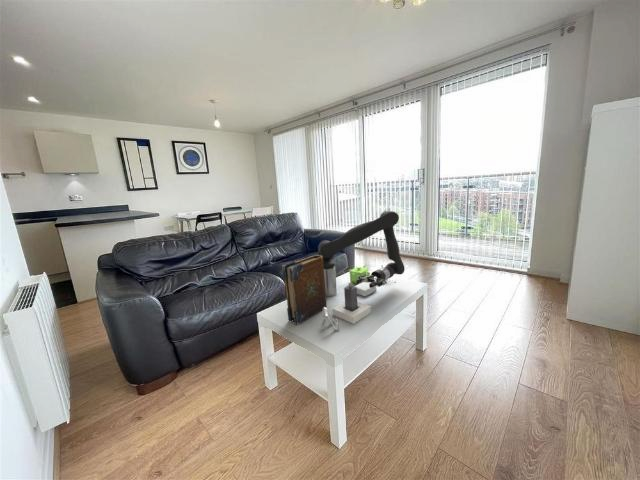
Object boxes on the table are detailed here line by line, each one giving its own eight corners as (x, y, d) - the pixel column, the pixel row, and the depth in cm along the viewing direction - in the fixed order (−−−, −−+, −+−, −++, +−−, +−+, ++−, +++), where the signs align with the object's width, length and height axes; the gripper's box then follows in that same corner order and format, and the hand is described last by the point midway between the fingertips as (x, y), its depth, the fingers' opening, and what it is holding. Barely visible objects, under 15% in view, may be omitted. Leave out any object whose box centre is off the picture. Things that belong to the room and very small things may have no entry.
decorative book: (297, 325, 125) (291, 267, 119) (288, 321, 130) (282, 265, 124) (328, 307, 142) (325, 255, 136) (319, 303, 147) (315, 253, 140)
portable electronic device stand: (339, 330, 118) (338, 314, 117) (322, 332, 118) (321, 316, 116) (337, 321, 127) (336, 305, 125) (321, 323, 126) (320, 307, 125)
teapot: (365, 277, 182) (365, 263, 180) (374, 283, 169) (374, 268, 167) (345, 280, 178) (344, 266, 176) (352, 287, 165) (352, 272, 163)
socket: (332, 314, 133) (332, 308, 133) (350, 304, 143) (349, 299, 142) (353, 323, 123) (353, 317, 123) (370, 312, 133) (370, 306, 132)
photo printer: (352, 286, 157) (364, 280, 165) (352, 292, 158) (365, 286, 166) (365, 290, 149) (378, 284, 157) (365, 297, 150) (378, 290, 158)
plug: (345, 313, 133) (343, 283, 130) (351, 309, 136) (349, 280, 133) (352, 315, 130) (350, 285, 126) (357, 312, 133) (356, 282, 129)
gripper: (370, 267, 153) (352, 274, 142) (391, 272, 142) (374, 280, 132) (370, 279, 154) (353, 287, 144) (391, 284, 144) (374, 294, 133)
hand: (363, 284), depth 138 cm, fingers open, 8 cm apart
